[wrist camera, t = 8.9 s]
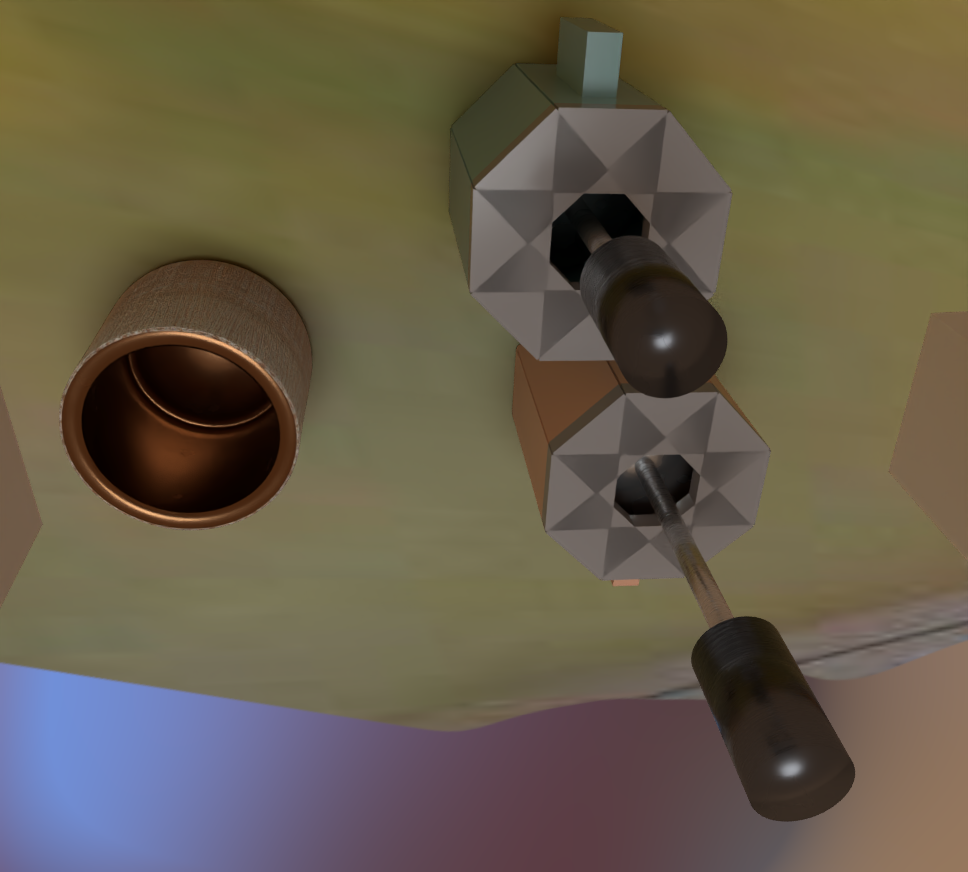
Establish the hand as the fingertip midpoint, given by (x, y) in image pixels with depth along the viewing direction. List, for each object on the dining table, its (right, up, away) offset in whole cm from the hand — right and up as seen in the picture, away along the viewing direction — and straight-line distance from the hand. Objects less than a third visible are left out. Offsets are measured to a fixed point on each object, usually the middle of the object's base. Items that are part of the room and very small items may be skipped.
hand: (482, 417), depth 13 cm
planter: (-15, +5, +37) cm, 41 cm away
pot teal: (+4, +14, +34) cm, 37 cm away
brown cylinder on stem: (+8, -1, +33) cm, 34 cm away
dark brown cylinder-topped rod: (+4, +12, +32) cm, 34 cm away
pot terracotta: (+7, +2, +41) cm, 42 cm away
